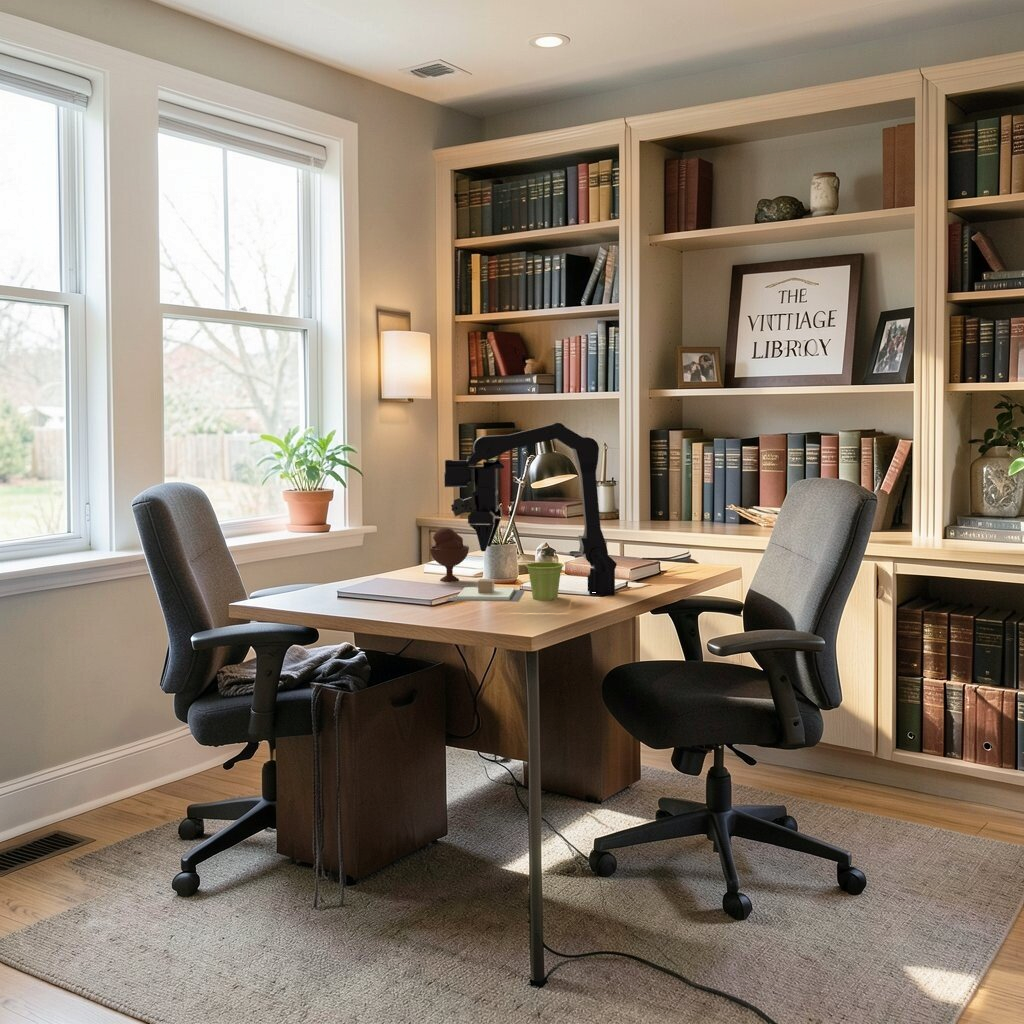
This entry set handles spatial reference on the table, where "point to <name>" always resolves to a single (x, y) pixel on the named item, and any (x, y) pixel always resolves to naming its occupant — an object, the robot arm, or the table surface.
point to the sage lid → (485, 592)
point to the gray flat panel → (514, 597)
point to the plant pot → (544, 579)
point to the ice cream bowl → (448, 551)
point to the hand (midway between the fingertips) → (485, 548)
